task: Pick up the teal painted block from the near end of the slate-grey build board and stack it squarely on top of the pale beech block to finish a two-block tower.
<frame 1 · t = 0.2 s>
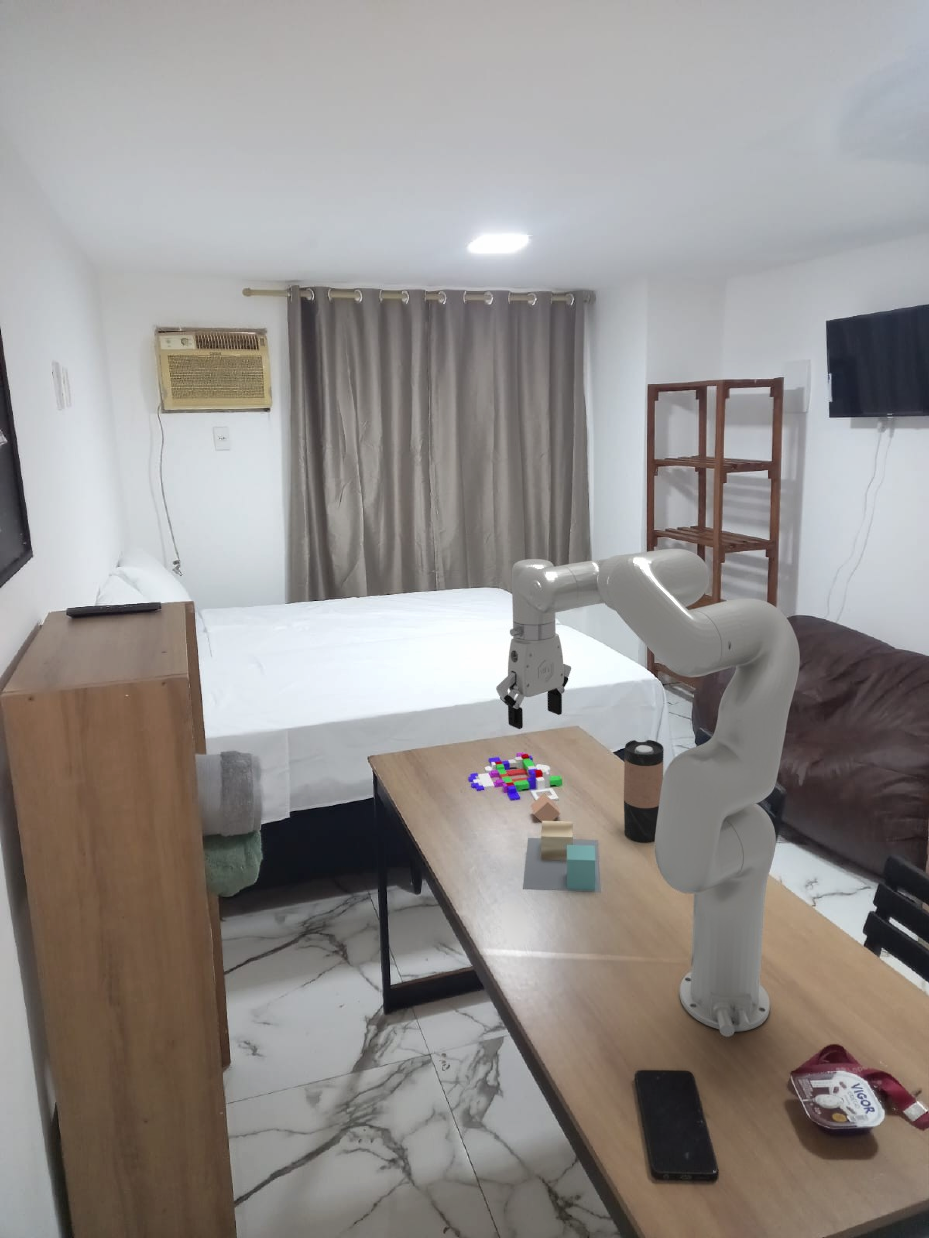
hand: (535, 719, 148), 30 cm above the table, tool pointing down, fingers open, 9 cm apart
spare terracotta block: (543, 804, 173), point 3 cm above the table, tilted 91°
travel mug: (642, 838, 164), on the table
beech block: (557, 851, 158), point 1 cm above the table, touching build board
build board: (562, 867, 154), on the table
building block set: (513, 783, 192), on the table
teal block: (581, 881, 148), point 1 cm above the table, touching build board
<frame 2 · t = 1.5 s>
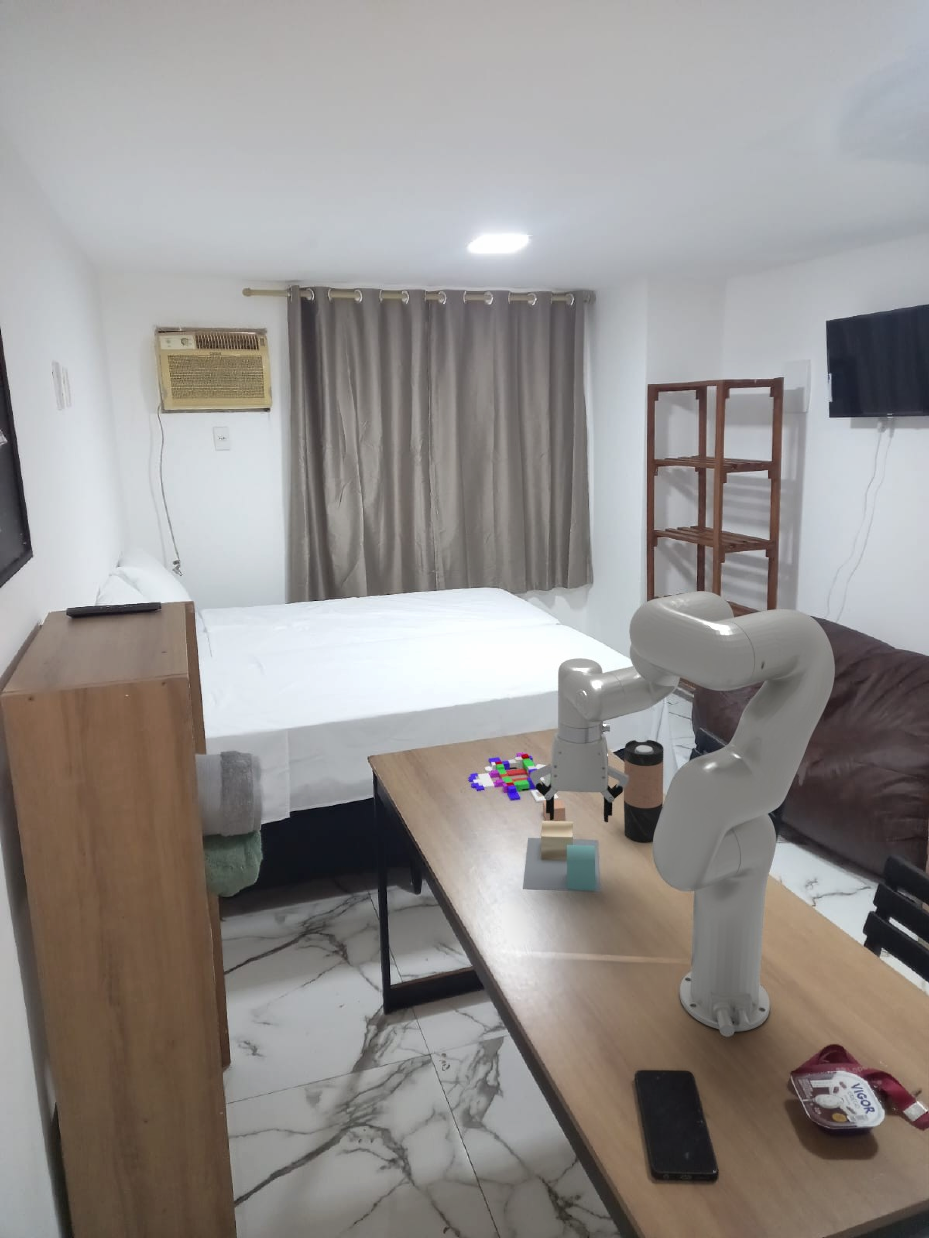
hand: (578, 817, 145), 14 cm above the table, tool pointing down, fingers open, 9 cm apart
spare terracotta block: (552, 808, 174), point 2 cm above the table, tilted 90°
everything else where it was.
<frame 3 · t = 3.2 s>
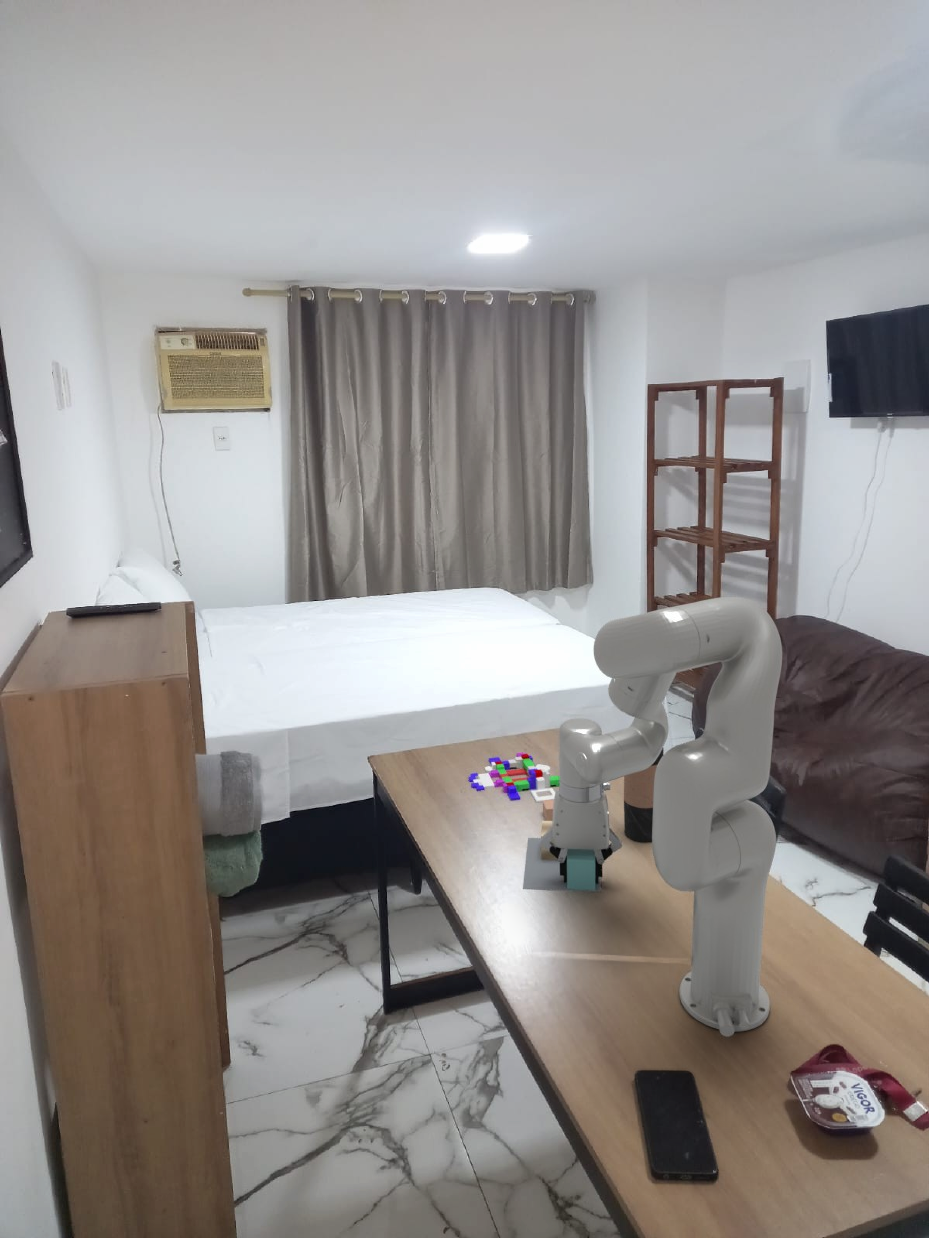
hand: (581, 877, 148), 2 cm above the table, tool pointing down, fingers closed on teal block, 5 cm apart
teal block: (581, 881, 148), point 1 cm above the table, touching build board, gripper
everything else where it was.
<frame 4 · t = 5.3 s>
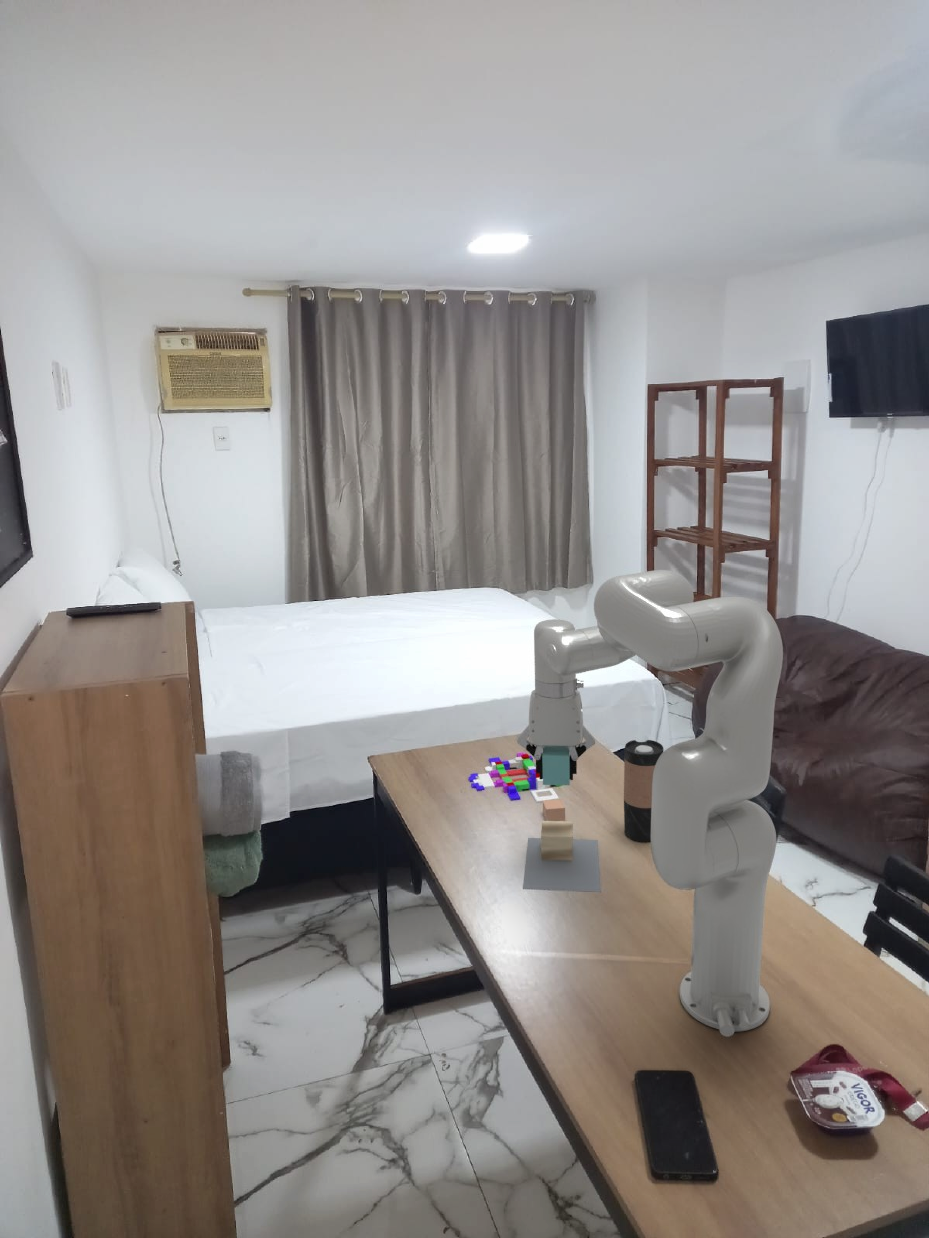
hand: (556, 775, 154), 17 cm above the table, tool pointing down, fingers closed on teal block, 5 cm apart
teal block: (556, 779, 154), point 17 cm above the table, touching gripper
everything else where it was.
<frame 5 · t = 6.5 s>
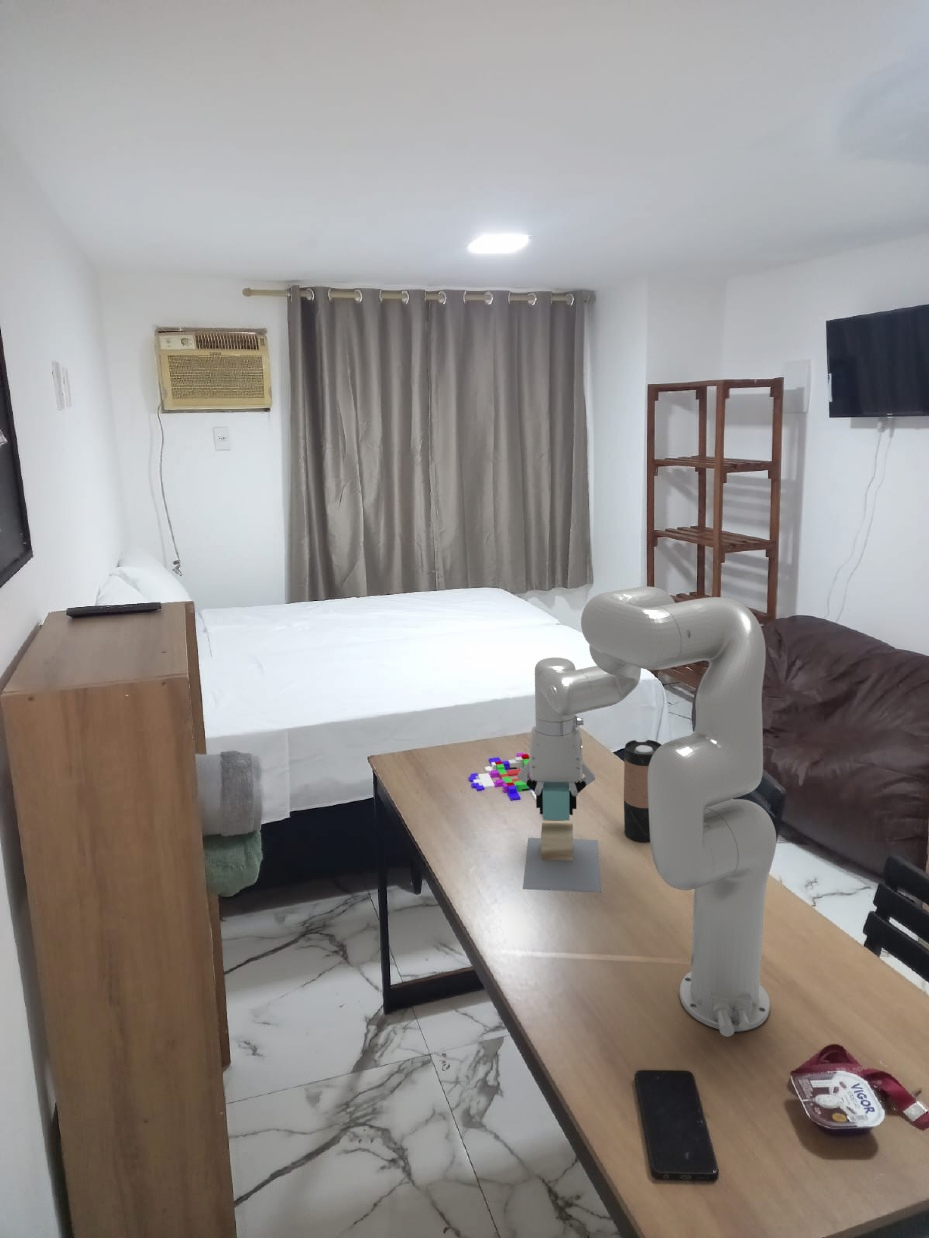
hand: (556, 810, 156), 10 cm above the table, tool pointing down, fingers closed on teal block, 5 cm apart
teal block: (556, 813, 156), point 9 cm above the table, touching gripper
everything else where it was.
when the fingers open (8 cm above the table, at t = 7.3 s): teal block stays where it is, resting on beech block.
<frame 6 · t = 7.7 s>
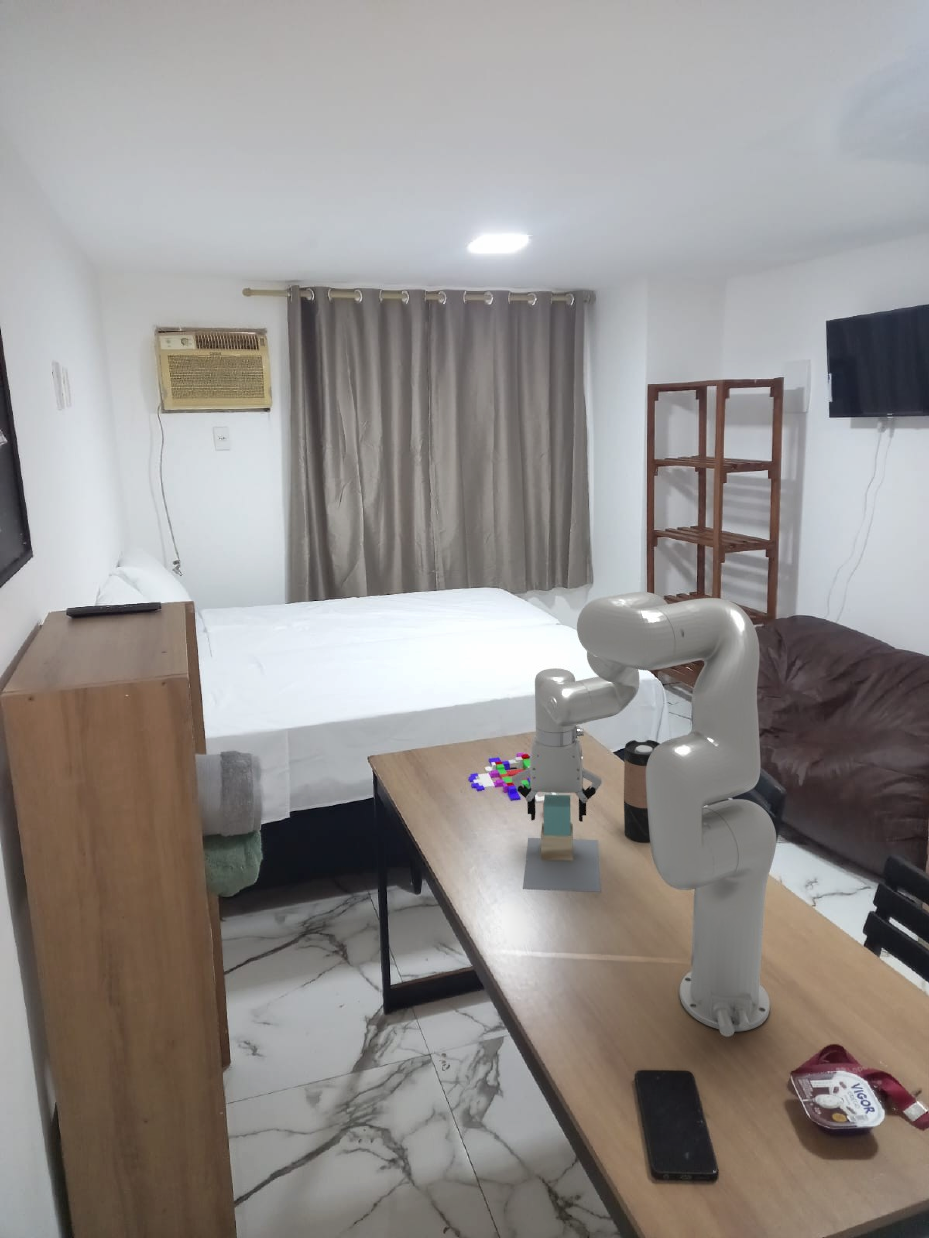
hand: (556, 817, 156), 8 cm above the table, tool pointing down, fingers open, 8 cm apart
beech block: (557, 851, 158), point 1 cm above the table, touching build board, teal block
teal block: (557, 828, 157), point 6 cm above the table, touching beech block
everything else where it was.
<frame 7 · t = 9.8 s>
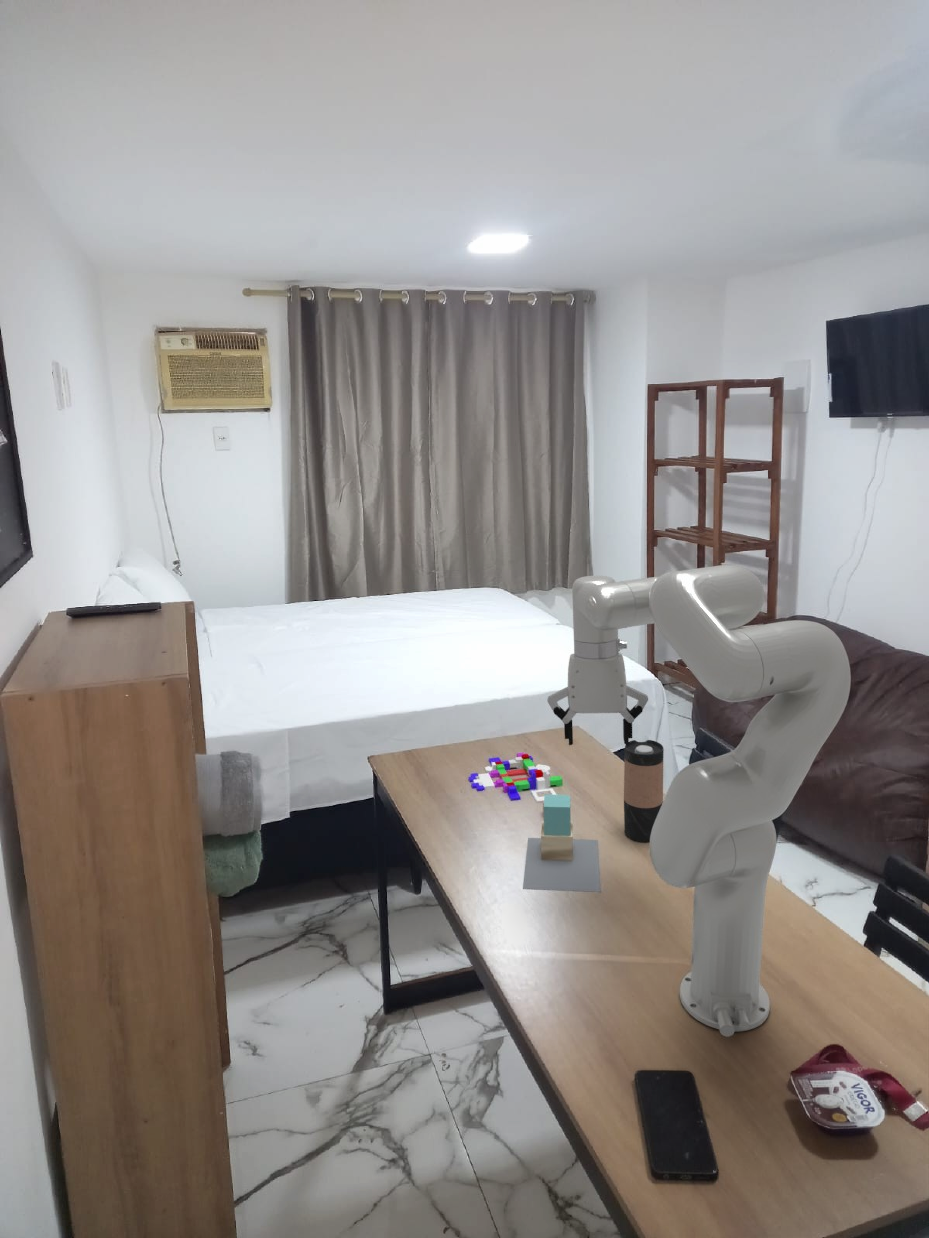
hand: (598, 742, 142), 28 cm above the table, tool pointing down, fingers open, 9 cm apart
nothing on the table moved.
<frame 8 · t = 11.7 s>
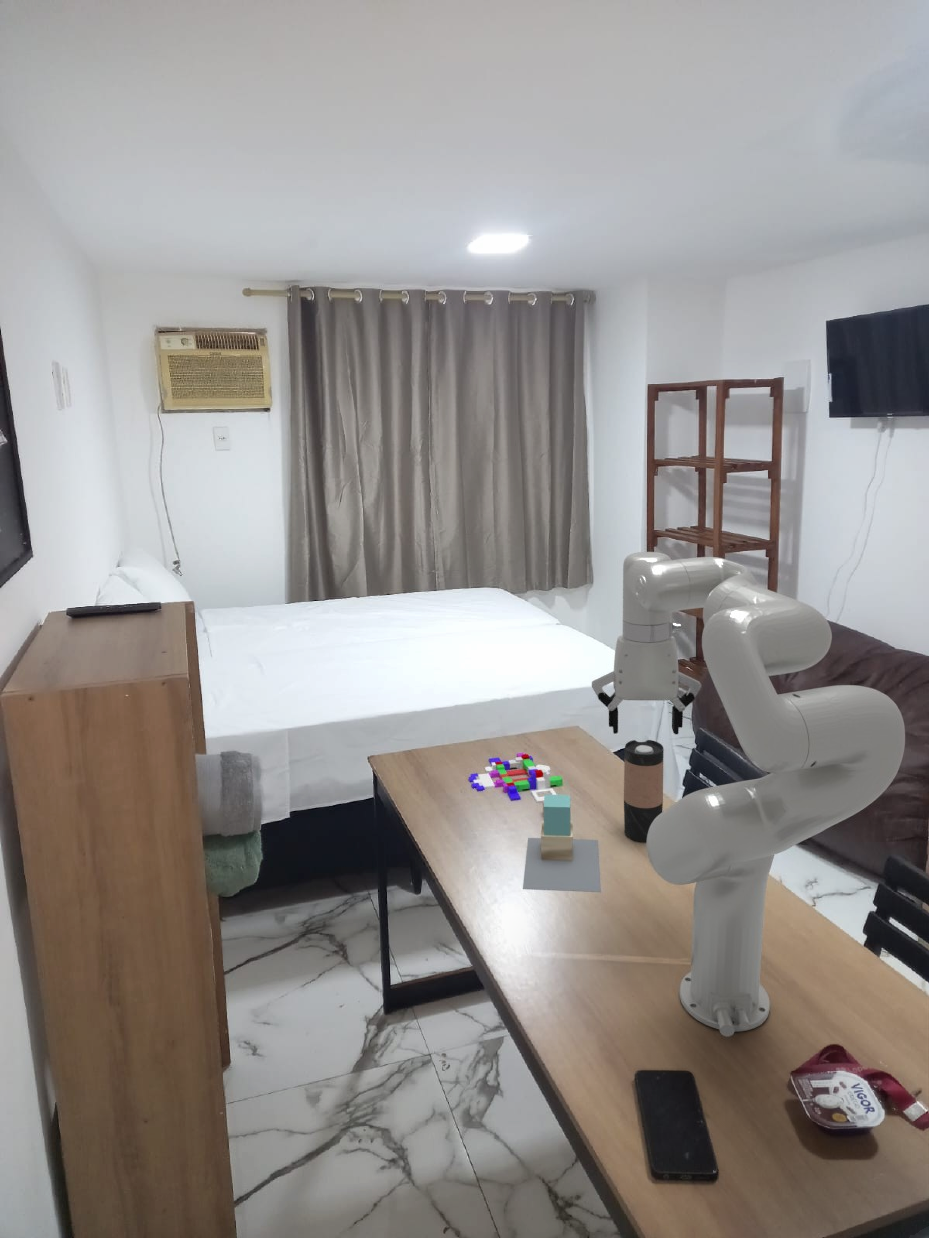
hand: (645, 730, 133), 33 cm above the table, tool pointing down, fingers open, 9 cm apart
nothing on the table moved.
at the end: teal block 0.1 cm off-centre on the beech block, point 5.0 cm above the beech block's base; teal block tilted 0°; the gripper is holding nothing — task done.
